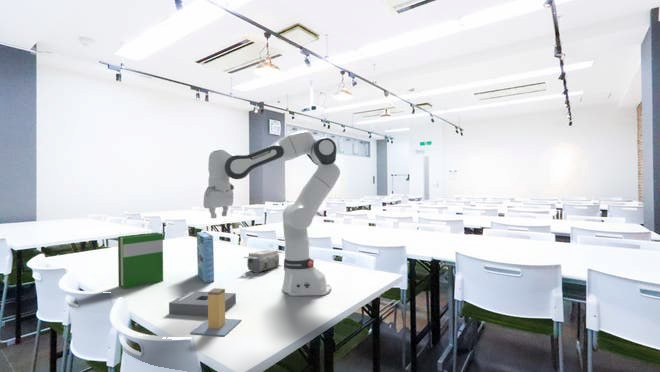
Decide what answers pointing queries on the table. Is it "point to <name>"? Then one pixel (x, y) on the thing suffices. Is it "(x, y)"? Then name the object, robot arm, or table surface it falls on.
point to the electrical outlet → (263, 260)
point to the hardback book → (140, 259)
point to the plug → (216, 308)
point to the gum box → (205, 256)
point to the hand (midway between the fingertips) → (219, 217)
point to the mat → (222, 331)
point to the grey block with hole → (197, 303)
